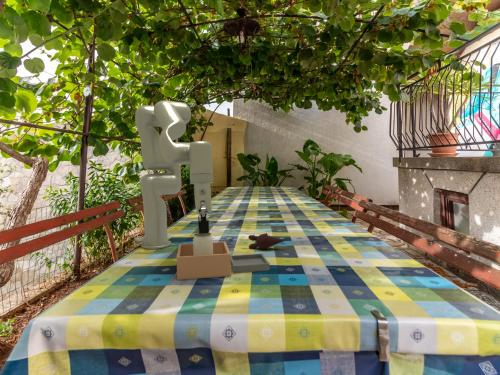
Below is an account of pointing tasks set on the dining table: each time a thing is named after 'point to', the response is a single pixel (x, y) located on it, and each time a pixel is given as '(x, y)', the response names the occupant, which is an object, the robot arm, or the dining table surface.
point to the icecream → (264, 241)
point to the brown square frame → (203, 262)
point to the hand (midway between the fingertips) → (203, 230)
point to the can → (203, 244)
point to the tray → (249, 263)
